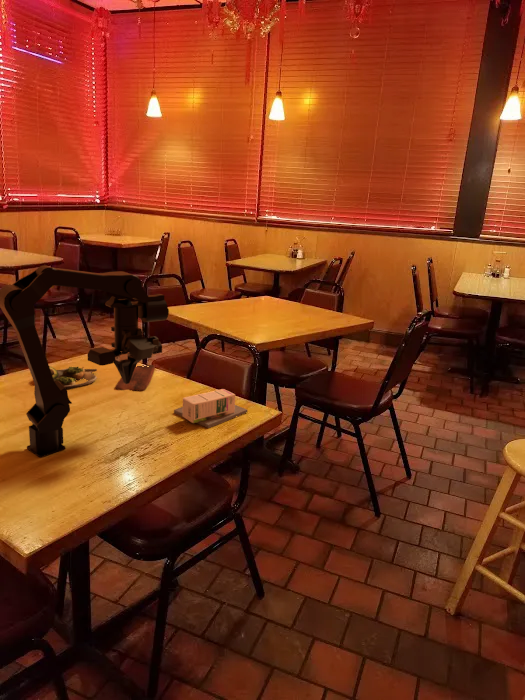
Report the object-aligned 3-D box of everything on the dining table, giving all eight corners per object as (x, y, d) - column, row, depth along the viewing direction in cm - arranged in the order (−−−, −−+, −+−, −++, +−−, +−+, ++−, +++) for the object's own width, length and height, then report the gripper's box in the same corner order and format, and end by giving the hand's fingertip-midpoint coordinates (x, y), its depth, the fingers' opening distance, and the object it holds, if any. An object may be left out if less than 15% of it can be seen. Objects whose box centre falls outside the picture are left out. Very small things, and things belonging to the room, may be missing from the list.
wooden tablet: (131, 361, 186) (158, 360, 186) (132, 367, 187) (159, 366, 187) (113, 387, 161) (144, 385, 161) (114, 394, 161) (145, 392, 161)
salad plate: (86, 368, 180) (86, 355, 179) (110, 382, 168) (110, 369, 167) (29, 377, 167) (29, 364, 166) (51, 394, 155) (51, 379, 154)
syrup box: (193, 404, 136) (236, 394, 145) (181, 397, 141) (224, 388, 150) (192, 423, 138) (235, 413, 147) (181, 416, 142) (223, 406, 151)
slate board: (208, 428, 138) (208, 424, 138) (173, 412, 147) (174, 409, 146) (247, 412, 150) (247, 409, 150) (213, 399, 159) (213, 396, 158)
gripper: (113, 336, 114) (114, 401, 118) (176, 325, 128) (175, 383, 133) (85, 326, 121) (87, 388, 125) (148, 316, 135) (148, 372, 139)
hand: (126, 383), depth 130 cm, fingers closed
